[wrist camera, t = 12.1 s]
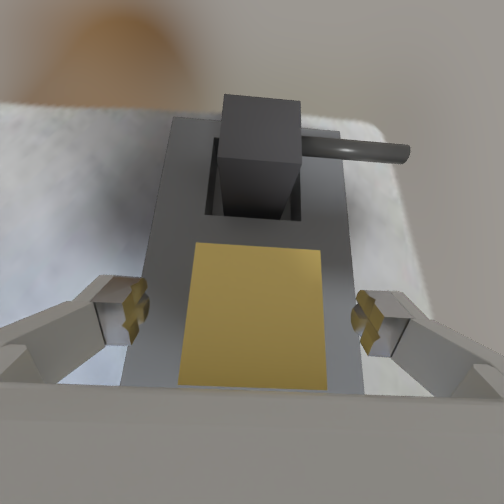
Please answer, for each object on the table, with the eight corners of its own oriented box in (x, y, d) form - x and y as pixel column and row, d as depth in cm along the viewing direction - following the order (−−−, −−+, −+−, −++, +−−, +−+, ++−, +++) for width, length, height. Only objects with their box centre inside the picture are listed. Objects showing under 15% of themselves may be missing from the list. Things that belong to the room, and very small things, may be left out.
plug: (210, 353, 15) (175, 386, 6) (216, 288, 16) (194, 240, 7) (276, 356, 15) (329, 392, 6) (276, 291, 16) (321, 248, 8)
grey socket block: (142, 394, 14) (48, 458, 7) (183, 152, 20) (154, 53, 13) (368, 401, 15) (490, 468, 8) (345, 165, 21) (403, 78, 13)
